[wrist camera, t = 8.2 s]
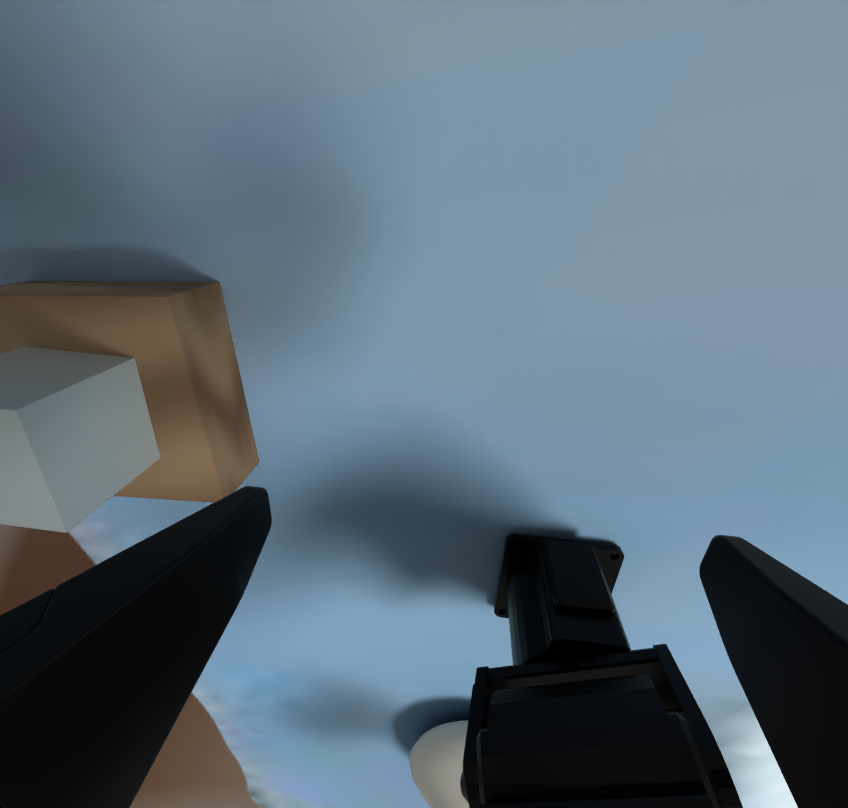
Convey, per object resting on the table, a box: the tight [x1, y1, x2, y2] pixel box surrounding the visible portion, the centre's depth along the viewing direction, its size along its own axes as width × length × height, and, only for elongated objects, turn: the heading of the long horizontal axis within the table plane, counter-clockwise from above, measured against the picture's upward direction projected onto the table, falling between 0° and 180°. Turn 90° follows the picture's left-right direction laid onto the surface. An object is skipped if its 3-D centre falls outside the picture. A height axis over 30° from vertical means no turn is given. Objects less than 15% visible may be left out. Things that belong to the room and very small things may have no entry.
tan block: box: [0, 281, 259, 502], centre depth 20 cm, size 10×10×4 cm
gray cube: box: [0, 347, 160, 533], centre depth 16 cm, size 5×5×5 cm
